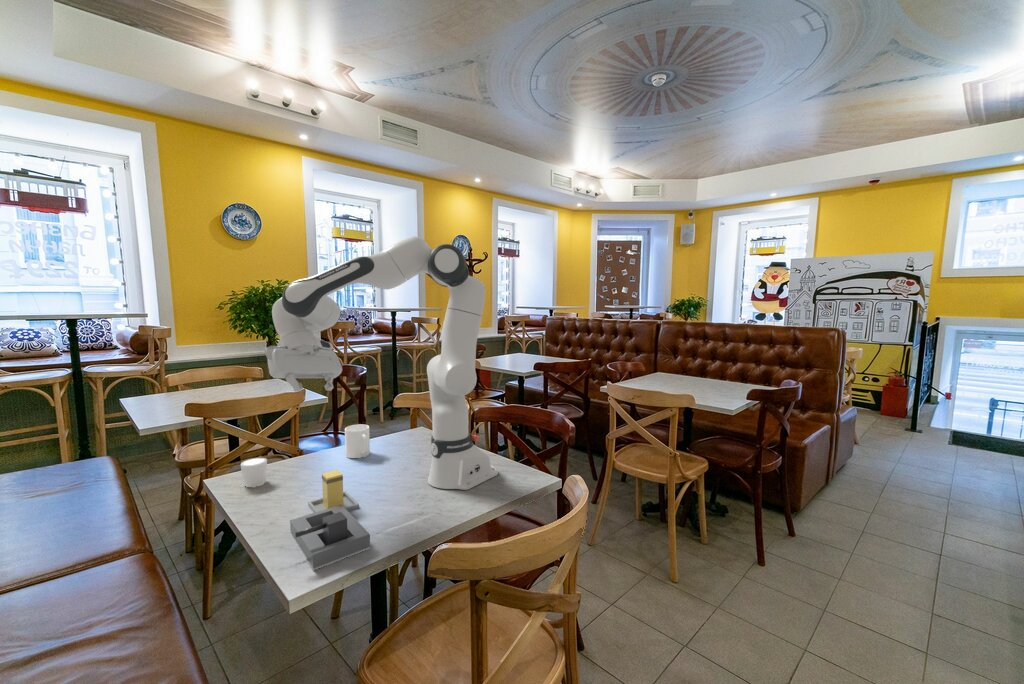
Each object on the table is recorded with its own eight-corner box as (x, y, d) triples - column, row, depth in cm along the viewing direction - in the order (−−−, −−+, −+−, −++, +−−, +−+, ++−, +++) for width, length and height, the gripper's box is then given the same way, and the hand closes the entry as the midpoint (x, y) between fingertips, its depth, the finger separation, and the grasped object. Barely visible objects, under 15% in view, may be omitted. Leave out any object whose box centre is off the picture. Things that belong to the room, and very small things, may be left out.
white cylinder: (255, 489, 123) (254, 466, 122) (236, 487, 124) (234, 464, 124) (273, 480, 130) (272, 458, 129) (254, 478, 131) (253, 456, 130)
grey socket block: (341, 517, 107) (341, 489, 107) (370, 548, 94) (369, 516, 93) (281, 537, 98) (279, 506, 98) (302, 575, 85) (301, 539, 84)
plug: (338, 501, 115) (337, 469, 114) (343, 506, 112) (342, 474, 111) (323, 505, 112) (321, 473, 112) (327, 511, 109) (326, 478, 109)
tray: (345, 496, 119) (345, 491, 119) (359, 509, 112) (358, 504, 112) (308, 507, 113) (307, 502, 113) (319, 521, 105) (319, 516, 105)
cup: (363, 449, 157) (363, 422, 156) (378, 457, 149) (378, 430, 148) (341, 454, 152) (340, 427, 151) (356, 464, 143) (355, 435, 142)
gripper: (269, 338, 109) (284, 384, 104) (336, 344, 126) (352, 383, 122) (257, 352, 111) (271, 397, 106) (324, 355, 129) (339, 394, 124)
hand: (314, 389), depth 114 cm, fingers open, 8 cm apart
